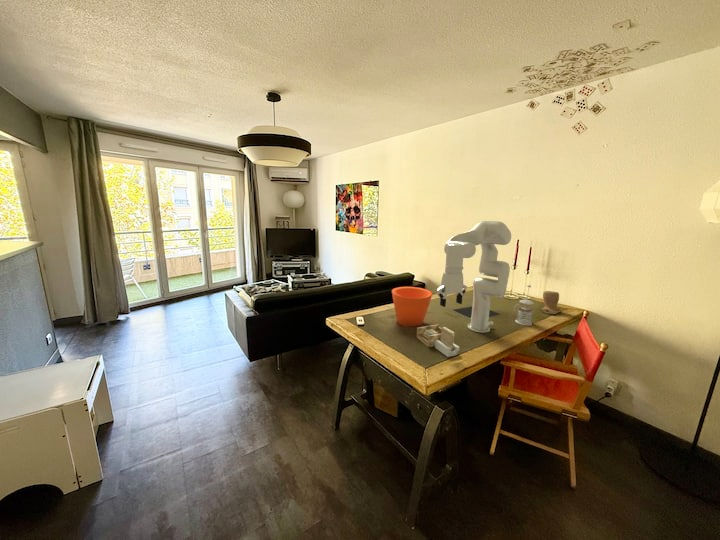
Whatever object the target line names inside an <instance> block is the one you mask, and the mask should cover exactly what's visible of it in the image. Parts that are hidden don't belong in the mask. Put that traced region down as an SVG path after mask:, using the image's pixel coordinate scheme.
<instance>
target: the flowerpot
mask: <svg viewBox="0 0 720 540" xmlns="http://www.w3.org/2000/svg"><path fill="white" fill-rule="evenodd" d="M391 294H392V301H393V306H394V312H395V315H396V317H395V318H396V322H397V323H398V324H399V325H400V326H403V327H407V328H408V327H415V326H416V327H417V326H421V325H422V326H423V323H424V321H425V318H426V315H427V311H428V309H429V306H430V303H431V300H432V297H433V292H432V291H430V290H429V289H425V288H422V287H417V286H416V287H415V286H399V287H395V288H393V289H392V290H391Z"/></svg>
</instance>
